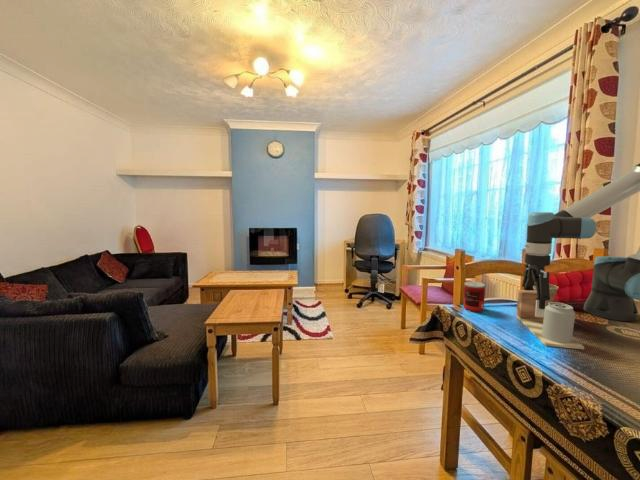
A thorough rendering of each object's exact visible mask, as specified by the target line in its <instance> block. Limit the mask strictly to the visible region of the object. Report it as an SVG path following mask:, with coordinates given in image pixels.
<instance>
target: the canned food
mask: <svg viewBox="0 0 640 480" xmlns="http://www.w3.org/2000/svg"><path fill="white" fill-rule="evenodd" d="M463 285H464V287H463V288H464V290H463V308H465V309H464V310H466V311H468V312H470V313H471V312H472V313H481V312H483V311H484V309H485V296H486V284H484V283H483V282H481V281H465V282H464V284H463Z"/></svg>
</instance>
